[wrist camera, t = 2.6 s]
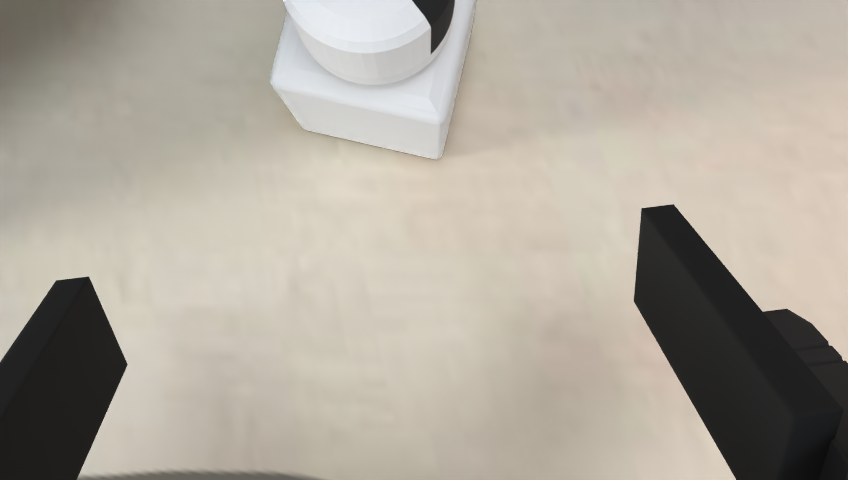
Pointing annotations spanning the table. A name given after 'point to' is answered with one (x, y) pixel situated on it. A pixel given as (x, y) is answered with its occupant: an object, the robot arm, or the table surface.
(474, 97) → the table surface
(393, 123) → the medicine bottle
